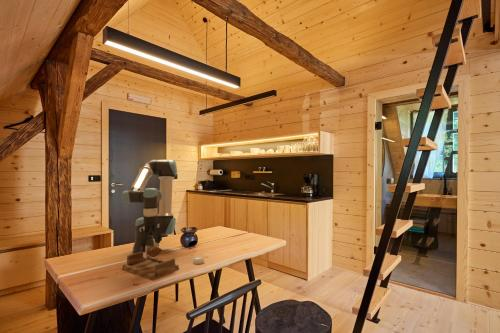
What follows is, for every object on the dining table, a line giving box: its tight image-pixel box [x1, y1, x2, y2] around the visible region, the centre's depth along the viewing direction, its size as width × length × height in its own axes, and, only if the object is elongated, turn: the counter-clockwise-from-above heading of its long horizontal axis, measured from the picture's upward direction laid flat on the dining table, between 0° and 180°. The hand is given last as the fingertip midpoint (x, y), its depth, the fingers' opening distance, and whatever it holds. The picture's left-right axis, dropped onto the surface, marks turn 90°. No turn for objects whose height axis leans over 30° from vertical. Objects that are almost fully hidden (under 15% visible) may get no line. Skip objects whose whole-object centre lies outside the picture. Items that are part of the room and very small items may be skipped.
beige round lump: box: [192, 255, 205, 265], centre depth 163 cm, size 6×6×3 cm
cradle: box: [121, 251, 180, 281], centre depth 152 cm, size 27×18×7 cm, turn 57°
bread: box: [140, 245, 162, 258], centre depth 154 cm, size 6×19×6 cm, turn 41°
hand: (150, 255), depth 152 cm, fingers closed on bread, 6 cm apart
